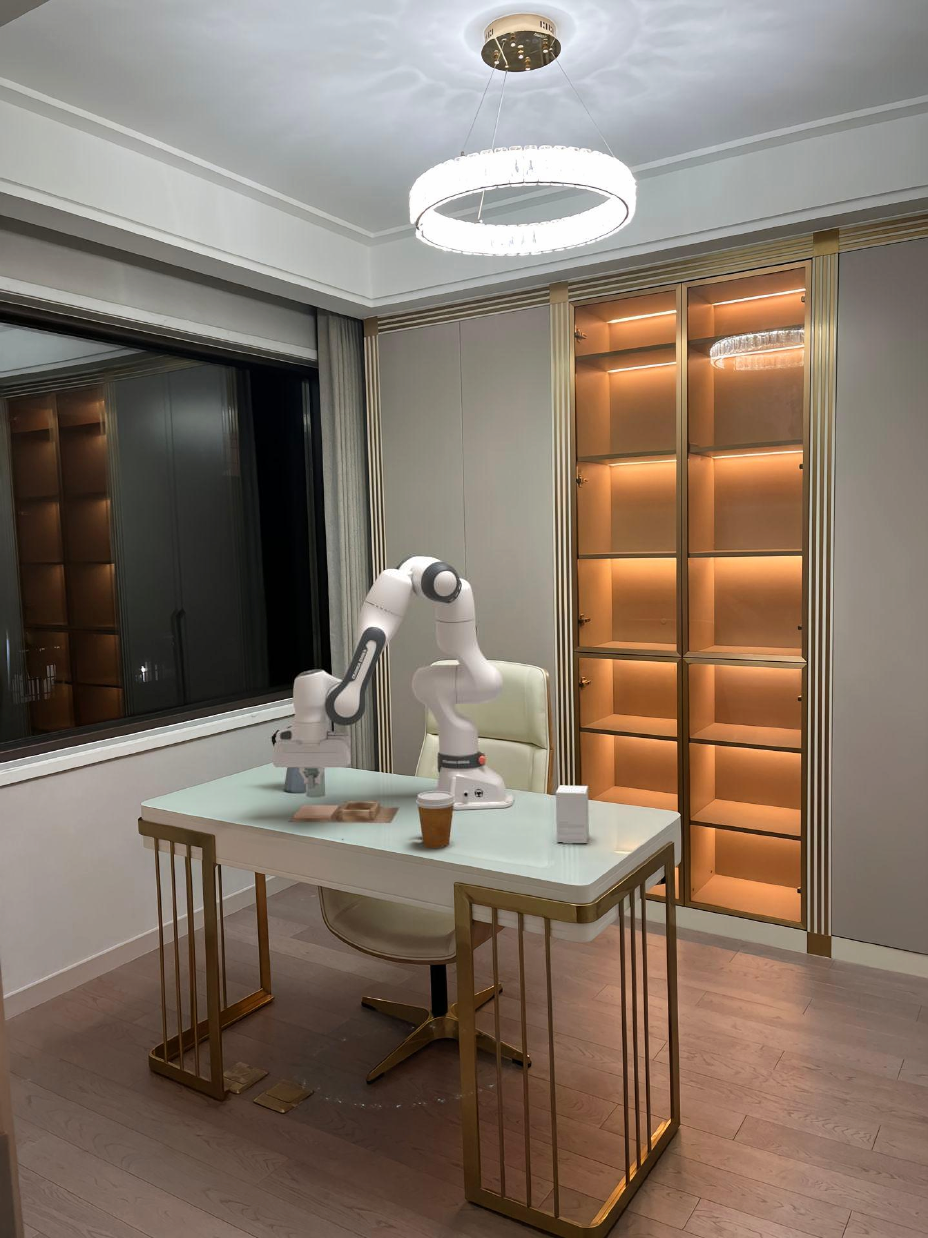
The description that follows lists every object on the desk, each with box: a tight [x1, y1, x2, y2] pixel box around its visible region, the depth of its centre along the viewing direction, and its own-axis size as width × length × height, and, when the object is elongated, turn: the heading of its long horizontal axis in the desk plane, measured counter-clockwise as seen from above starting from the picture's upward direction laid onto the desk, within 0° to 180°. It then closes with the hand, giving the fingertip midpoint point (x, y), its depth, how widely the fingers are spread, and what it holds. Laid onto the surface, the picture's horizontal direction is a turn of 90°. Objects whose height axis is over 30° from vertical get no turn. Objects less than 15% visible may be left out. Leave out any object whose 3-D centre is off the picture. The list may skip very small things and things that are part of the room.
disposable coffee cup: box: [415, 790, 455, 849], centre depth 227 cm, size 10×10×12 cm
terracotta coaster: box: [293, 804, 340, 818], centre depth 253 cm, size 10×10×1 cm
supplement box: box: [555, 784, 590, 844], centre depth 229 cm, size 7×7×13 cm
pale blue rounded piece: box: [305, 767, 326, 799], centre depth 249 cm, size 8×5×8 cm, turn 176°
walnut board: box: [288, 801, 400, 824], centre depth 251 cm, size 27×15×4 cm, turn 85°
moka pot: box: [270, 729, 306, 794], centre depth 282 cm, size 10×15×20 cm, turn 89°
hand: (312, 783), depth 247 cm, fingers closed on pale blue rounded piece
